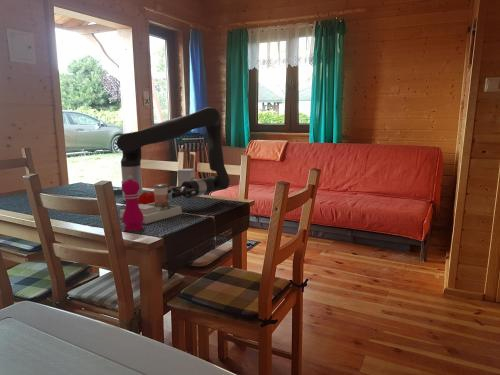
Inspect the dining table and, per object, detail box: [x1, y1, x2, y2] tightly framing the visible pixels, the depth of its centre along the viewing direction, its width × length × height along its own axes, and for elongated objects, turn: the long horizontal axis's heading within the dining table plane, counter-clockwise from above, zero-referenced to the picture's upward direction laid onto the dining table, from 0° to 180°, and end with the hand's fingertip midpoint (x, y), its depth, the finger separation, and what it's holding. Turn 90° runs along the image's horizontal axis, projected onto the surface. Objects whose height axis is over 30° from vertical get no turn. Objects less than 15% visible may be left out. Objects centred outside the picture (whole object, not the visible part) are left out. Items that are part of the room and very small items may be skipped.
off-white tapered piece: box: [138, 204, 157, 215], centre depth 146 cm, size 10×6×5 cm, turn 53°
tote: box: [119, 202, 183, 225], centre depth 150 cm, size 16×18×4 cm
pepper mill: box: [121, 176, 144, 232], centre depth 131 cm, size 7×7×20 cm
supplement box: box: [177, 168, 196, 186], centre depth 203 cm, size 7×7×13 cm
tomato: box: [138, 191, 155, 205], centre depth 170 cm, size 10×11×6 cm
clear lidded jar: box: [153, 183, 170, 212], centre depth 151 cm, size 6×6×12 cm
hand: (165, 194), depth 152 cm, fingers open, 8 cm apart
